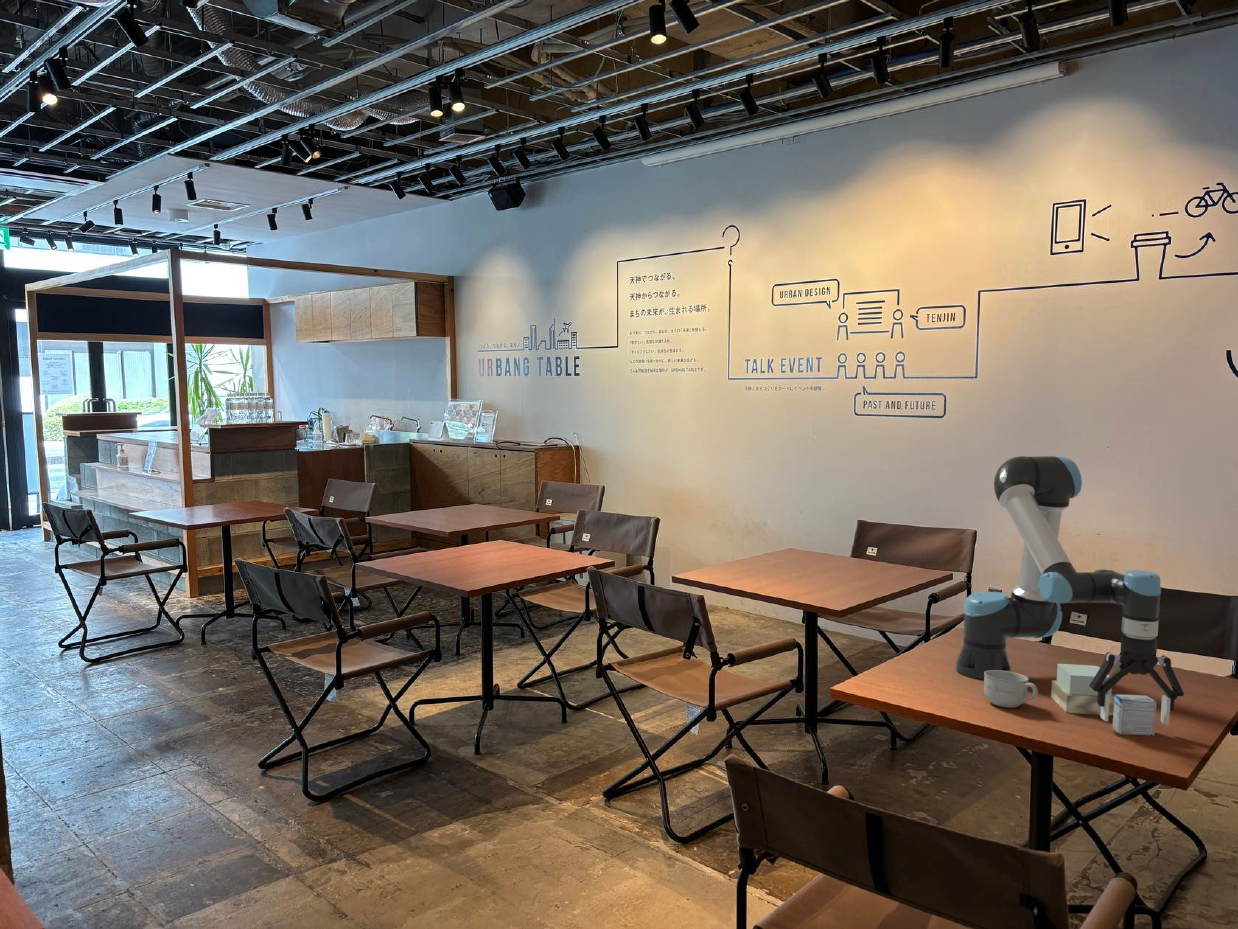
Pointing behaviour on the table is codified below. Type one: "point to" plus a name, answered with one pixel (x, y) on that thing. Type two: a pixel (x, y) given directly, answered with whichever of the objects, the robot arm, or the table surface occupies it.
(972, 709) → the table surface
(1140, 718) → the medicine box
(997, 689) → the teacup
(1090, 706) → the birch base block
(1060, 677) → the grey-green top block
